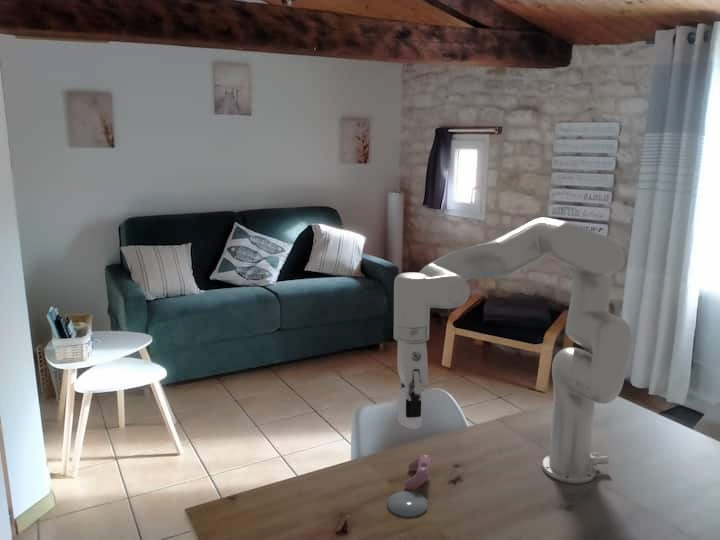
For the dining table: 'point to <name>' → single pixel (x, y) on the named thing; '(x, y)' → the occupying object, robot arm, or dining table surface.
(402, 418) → the eye dropper bottle
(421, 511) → the glossy grey pebble
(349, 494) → the dining table surface
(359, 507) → the dining table surface
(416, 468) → the video game controller
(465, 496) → the dining table surface
